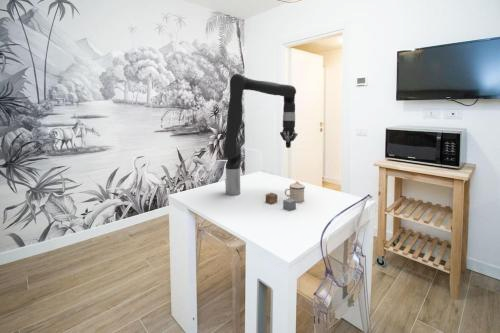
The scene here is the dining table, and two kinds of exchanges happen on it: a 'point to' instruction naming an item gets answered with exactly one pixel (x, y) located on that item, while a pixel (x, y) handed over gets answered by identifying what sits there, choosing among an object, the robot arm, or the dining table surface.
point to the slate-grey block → (289, 204)
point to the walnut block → (271, 198)
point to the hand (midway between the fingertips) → (288, 147)
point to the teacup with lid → (296, 192)
